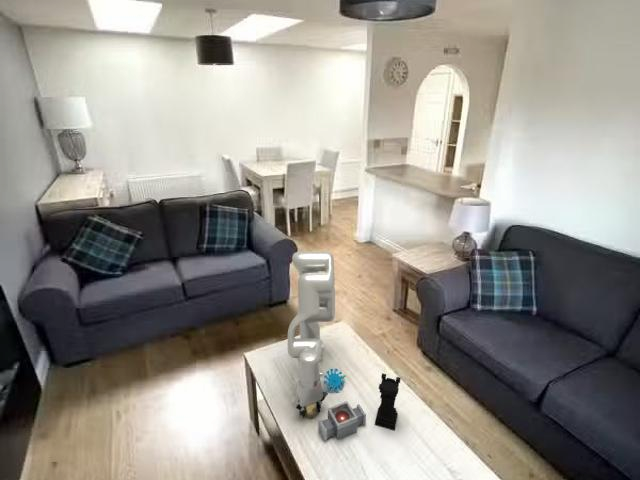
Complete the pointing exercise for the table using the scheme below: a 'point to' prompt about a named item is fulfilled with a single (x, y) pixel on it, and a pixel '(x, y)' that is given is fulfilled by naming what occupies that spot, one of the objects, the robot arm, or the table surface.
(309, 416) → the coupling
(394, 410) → the chess piece
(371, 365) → the table surface
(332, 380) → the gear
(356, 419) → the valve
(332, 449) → the table surface
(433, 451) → the table surface
